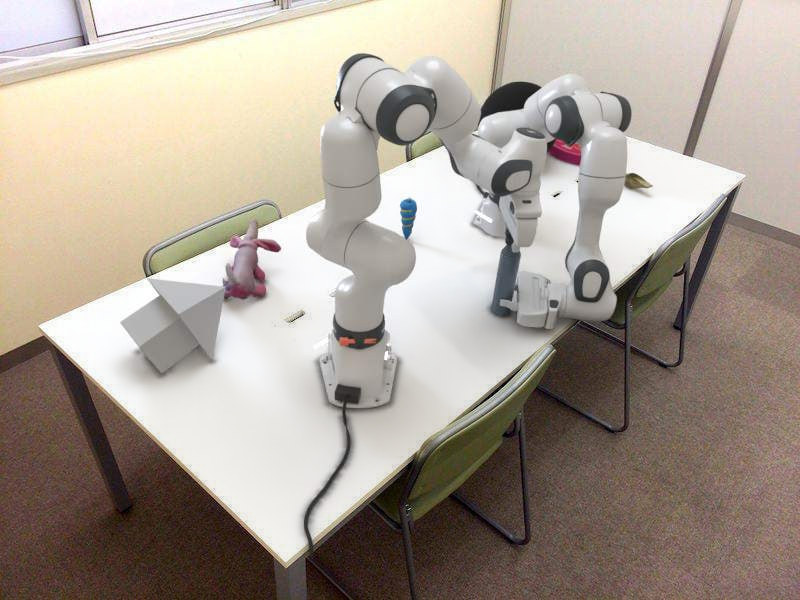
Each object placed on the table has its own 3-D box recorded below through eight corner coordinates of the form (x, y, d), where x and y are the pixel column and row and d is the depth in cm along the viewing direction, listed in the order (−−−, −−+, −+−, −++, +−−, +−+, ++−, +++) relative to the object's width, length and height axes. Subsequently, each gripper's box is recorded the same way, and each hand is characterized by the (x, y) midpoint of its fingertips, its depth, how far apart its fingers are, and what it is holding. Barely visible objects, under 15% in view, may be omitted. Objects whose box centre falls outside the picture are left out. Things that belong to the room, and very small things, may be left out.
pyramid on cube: (256, 326, 161) (227, 278, 148) (174, 389, 154) (136, 344, 140) (223, 293, 171) (193, 245, 157) (145, 351, 164) (106, 305, 150)
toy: (299, 270, 187) (288, 223, 179) (243, 315, 171) (228, 266, 163) (250, 258, 196) (238, 213, 188) (193, 300, 180) (176, 253, 172)
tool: (597, 174, 249) (599, 163, 246) (610, 171, 251) (612, 160, 248) (638, 197, 232) (641, 185, 229) (652, 193, 234) (655, 182, 231)
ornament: (395, 240, 203) (397, 197, 194) (403, 233, 207) (405, 190, 198) (410, 245, 201) (413, 202, 192) (417, 237, 205) (420, 195, 196)
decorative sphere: (465, 170, 243) (475, 91, 225) (481, 139, 266) (491, 65, 248) (546, 185, 237) (563, 105, 219) (556, 152, 260) (571, 77, 242)
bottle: (487, 307, 179) (499, 235, 165) (502, 301, 181) (515, 230, 167) (499, 317, 176) (512, 245, 162) (514, 312, 178) (528, 240, 164)
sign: (588, 172, 247) (635, 153, 263) (590, 164, 245) (637, 145, 261) (529, 144, 265) (575, 128, 281) (530, 136, 263) (577, 120, 278)
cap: (510, 248, 163) (511, 241, 162) (502, 240, 166) (503, 233, 165) (523, 245, 165) (524, 238, 163) (515, 237, 167) (516, 231, 166)
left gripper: (497, 174, 165) (490, 221, 174) (517, 215, 149) (508, 265, 158) (521, 173, 166) (513, 221, 174) (544, 215, 150) (533, 264, 158)
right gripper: (552, 268, 180) (502, 262, 182) (556, 314, 164) (501, 307, 165) (548, 287, 184) (499, 281, 185) (551, 333, 168) (497, 326, 169)
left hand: (511, 242), depth 166 cm, fingers open, 6 cm apart
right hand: (500, 294), depth 175 cm, fingers closed on bottle, 5 cm apart
